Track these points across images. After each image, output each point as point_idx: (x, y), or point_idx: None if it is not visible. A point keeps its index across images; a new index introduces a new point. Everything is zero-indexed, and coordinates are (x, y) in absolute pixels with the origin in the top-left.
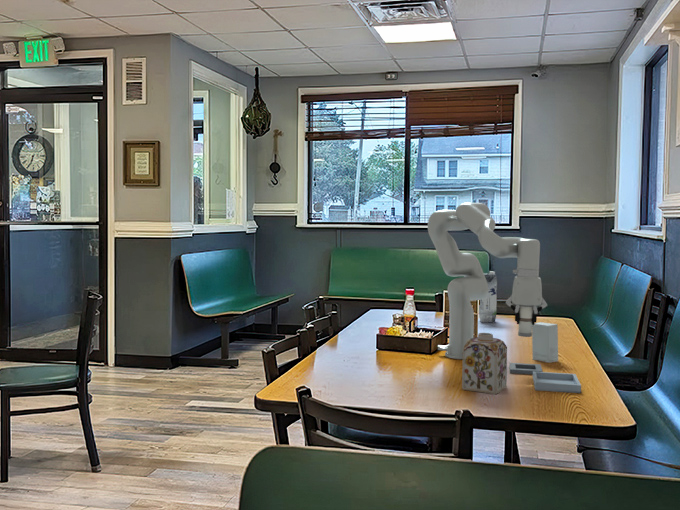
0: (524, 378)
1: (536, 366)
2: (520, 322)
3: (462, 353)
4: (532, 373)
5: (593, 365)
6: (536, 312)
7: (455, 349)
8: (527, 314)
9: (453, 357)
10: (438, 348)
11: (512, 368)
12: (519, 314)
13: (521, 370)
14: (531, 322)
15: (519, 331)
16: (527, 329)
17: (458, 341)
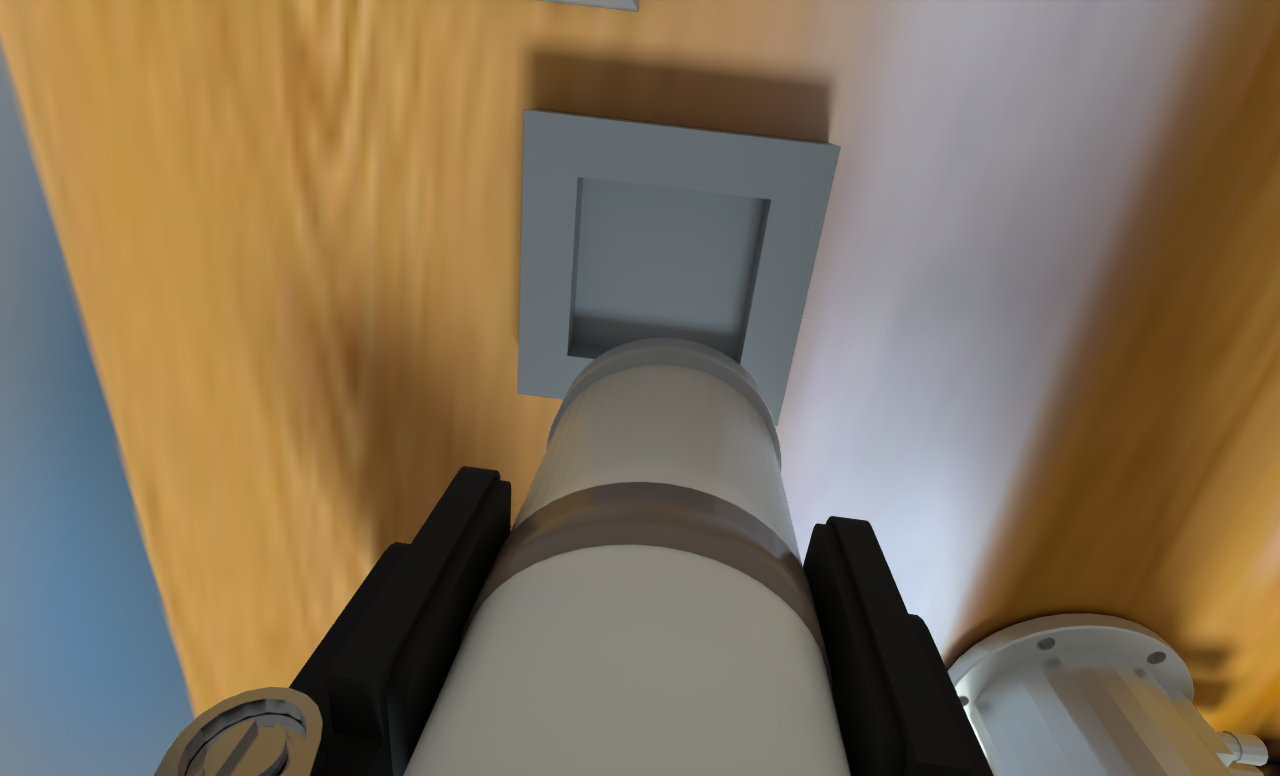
0: (717, 5)
1: (560, 309)
2: (788, 538)
3: (1096, 667)
4: (622, 120)
5: (158, 547)
6: (232, 748)
7: (1170, 704)
8: (605, 647)
9: (1154, 635)
10: (1253, 769)
11: (807, 187)
12: (847, 769)
13: (727, 133)
14: (518, 521)
15: (771, 443)
16: (634, 396)
17: (1203, 764)
